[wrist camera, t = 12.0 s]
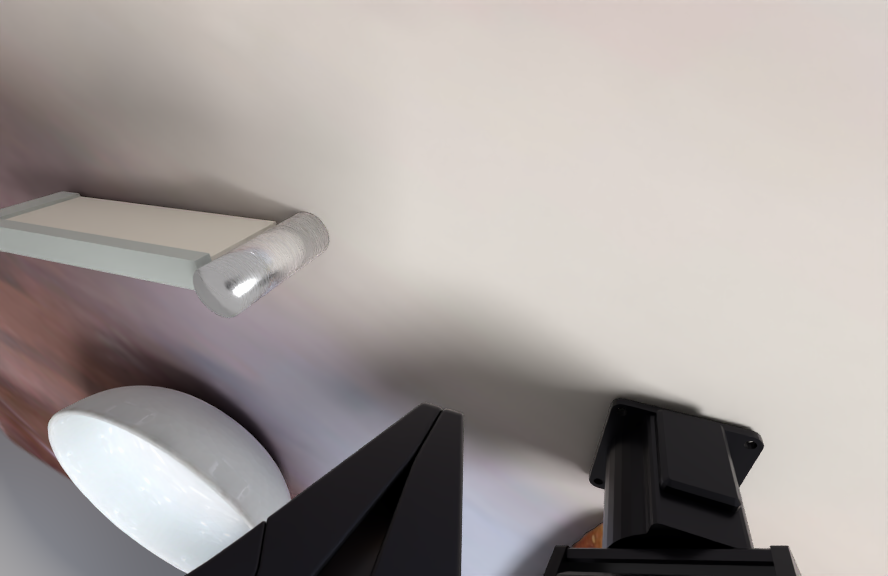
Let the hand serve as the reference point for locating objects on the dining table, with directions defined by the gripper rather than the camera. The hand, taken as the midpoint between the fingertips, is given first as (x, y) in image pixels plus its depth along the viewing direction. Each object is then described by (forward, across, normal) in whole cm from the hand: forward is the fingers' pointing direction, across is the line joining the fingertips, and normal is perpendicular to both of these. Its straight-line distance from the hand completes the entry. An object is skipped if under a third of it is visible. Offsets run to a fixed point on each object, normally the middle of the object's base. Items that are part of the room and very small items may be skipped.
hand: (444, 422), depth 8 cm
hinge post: (+12, +12, +3) cm, 17 cm away
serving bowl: (+12, +25, +26) cm, 38 cm away
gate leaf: (+12, +22, +3) cm, 25 cm away
